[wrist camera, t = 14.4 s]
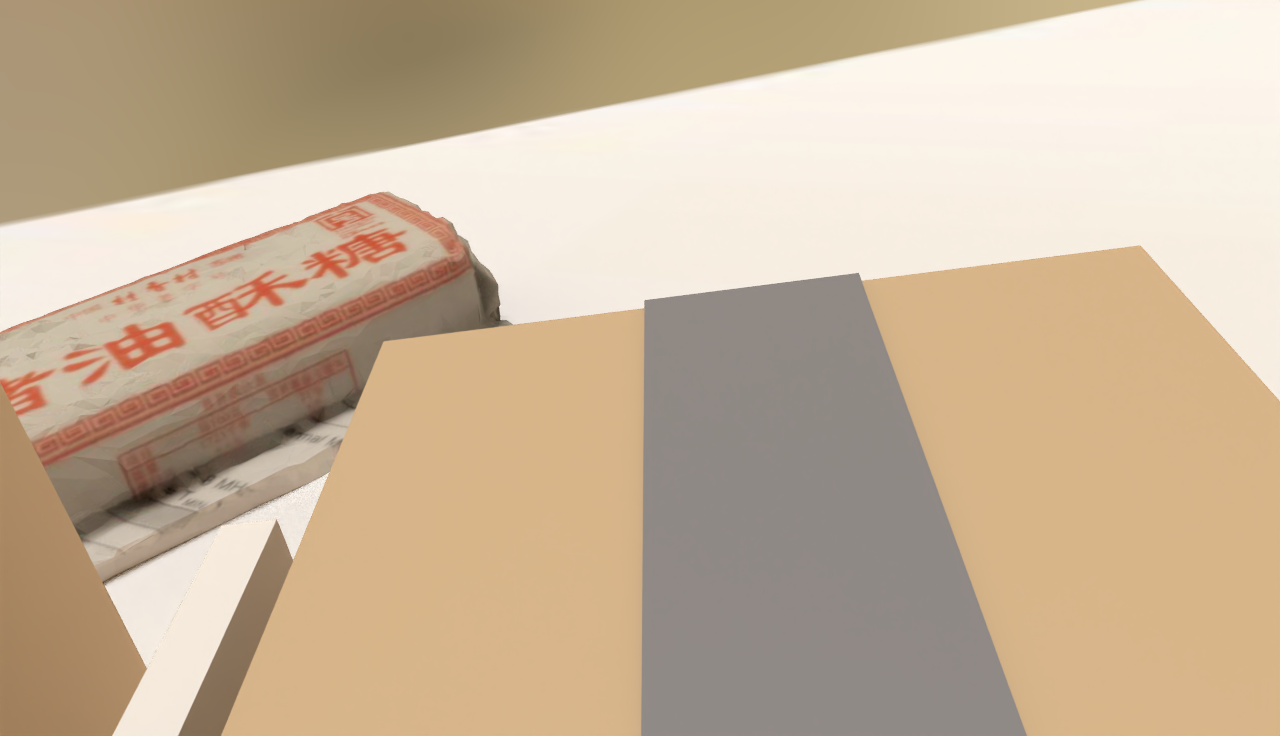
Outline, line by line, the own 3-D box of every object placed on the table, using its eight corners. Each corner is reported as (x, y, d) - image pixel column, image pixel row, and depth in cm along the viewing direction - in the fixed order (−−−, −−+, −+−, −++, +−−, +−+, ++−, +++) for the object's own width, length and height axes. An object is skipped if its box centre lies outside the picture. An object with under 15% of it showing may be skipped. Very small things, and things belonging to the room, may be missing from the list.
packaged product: (367, 157, 38) (523, 228, 31) (403, 284, 41) (554, 376, 34) (-239, 377, 30) (-219, 543, 23) (-148, 519, 32) (-104, 710, 25)
